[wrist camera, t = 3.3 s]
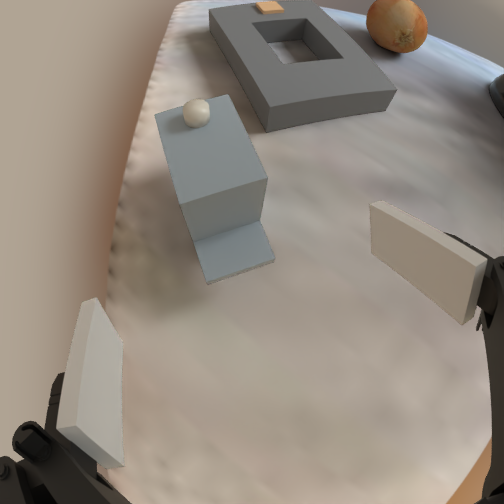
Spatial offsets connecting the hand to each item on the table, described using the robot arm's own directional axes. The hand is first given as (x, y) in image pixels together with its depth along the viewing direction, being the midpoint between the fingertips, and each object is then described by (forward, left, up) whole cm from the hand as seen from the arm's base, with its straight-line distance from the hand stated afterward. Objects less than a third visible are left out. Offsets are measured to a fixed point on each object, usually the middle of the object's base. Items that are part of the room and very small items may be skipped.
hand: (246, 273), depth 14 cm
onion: (0, -46, -13) cm, 48 cm away
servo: (+6, -6, -13) cm, 15 cm away
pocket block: (+10, -30, -13) cm, 34 cm away
